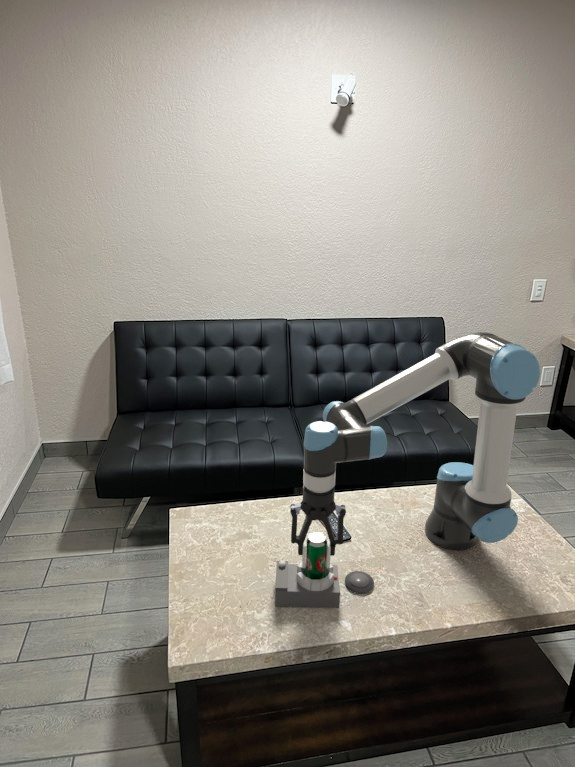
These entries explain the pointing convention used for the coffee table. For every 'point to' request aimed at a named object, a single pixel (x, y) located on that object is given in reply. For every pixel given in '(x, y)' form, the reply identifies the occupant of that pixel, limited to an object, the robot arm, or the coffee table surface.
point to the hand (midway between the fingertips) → (315, 564)
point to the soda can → (316, 556)
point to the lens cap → (359, 582)
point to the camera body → (305, 587)
